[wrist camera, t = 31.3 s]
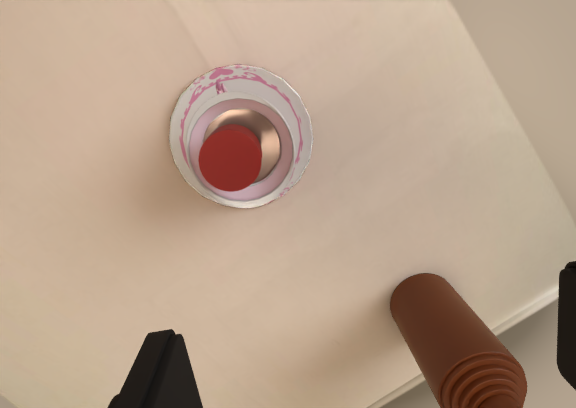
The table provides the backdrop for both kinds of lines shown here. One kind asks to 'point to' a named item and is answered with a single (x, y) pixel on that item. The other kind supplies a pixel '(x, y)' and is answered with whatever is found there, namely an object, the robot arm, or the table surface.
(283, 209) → the table surface
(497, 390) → the bottle
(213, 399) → the table surface
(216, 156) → the cap
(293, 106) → the teacup
